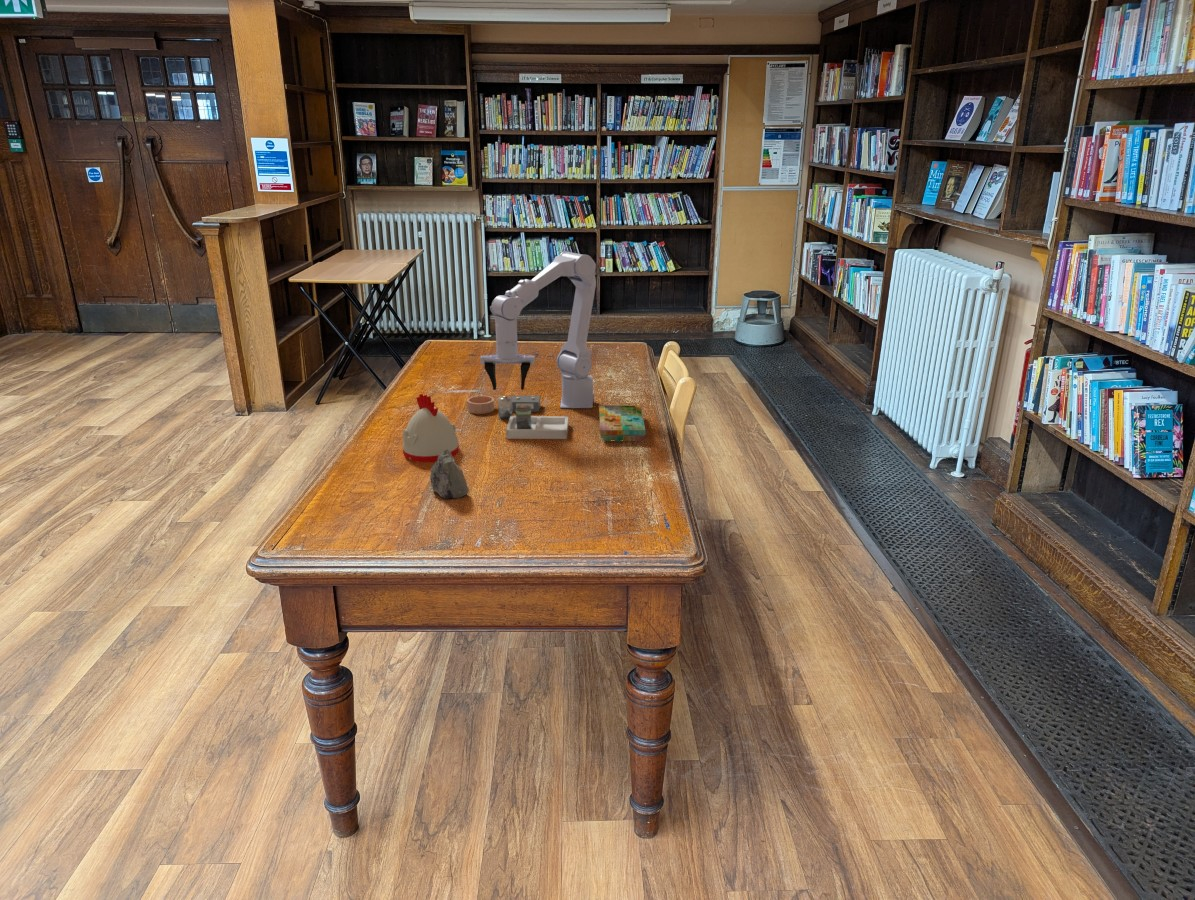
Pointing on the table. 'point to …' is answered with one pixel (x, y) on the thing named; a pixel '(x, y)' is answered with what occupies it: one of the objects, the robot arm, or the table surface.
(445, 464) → the mineral rock
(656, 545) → the table surface
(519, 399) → the grey box with knobs
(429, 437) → the kitchen timer
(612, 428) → the puzzle game
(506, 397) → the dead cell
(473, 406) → the pink bowl
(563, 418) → the tray
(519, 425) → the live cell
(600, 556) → the table surface
